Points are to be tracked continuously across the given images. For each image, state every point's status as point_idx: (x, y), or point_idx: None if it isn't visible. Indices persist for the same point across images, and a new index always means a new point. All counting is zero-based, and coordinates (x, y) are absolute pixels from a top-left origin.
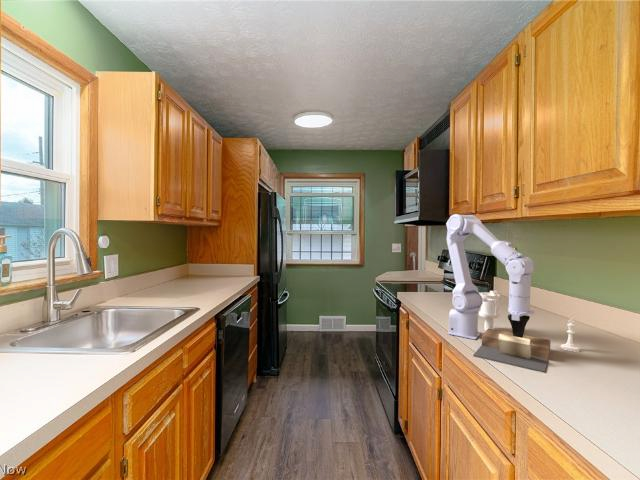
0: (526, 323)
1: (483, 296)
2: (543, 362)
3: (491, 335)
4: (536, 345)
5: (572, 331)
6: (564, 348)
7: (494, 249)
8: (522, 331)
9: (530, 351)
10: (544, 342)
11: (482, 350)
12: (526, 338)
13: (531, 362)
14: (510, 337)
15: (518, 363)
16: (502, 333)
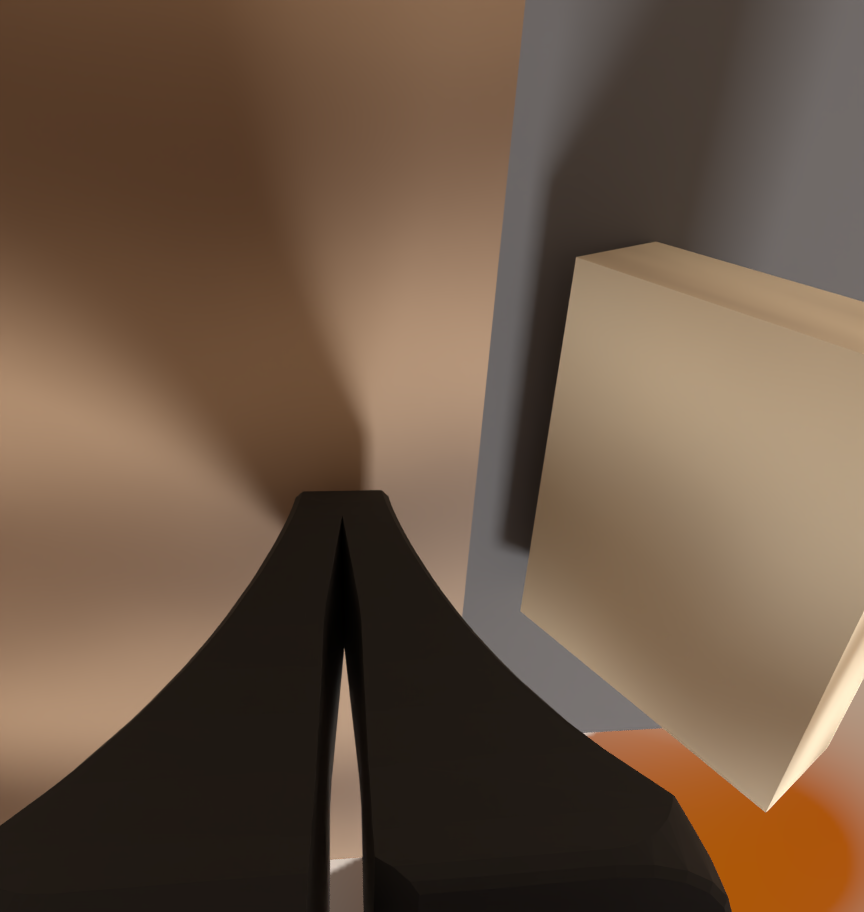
0: (161, 712)
1: None
2: (729, 35)
3: (341, 796)
4: (444, 208)
5: None
6: None
7: None
8: (441, 600)
9: (673, 275)
10: (35, 41)
11: (617, 698)
12: (56, 420)
13: (806, 211)
14: (848, 667)
15: None
16: (93, 735)
